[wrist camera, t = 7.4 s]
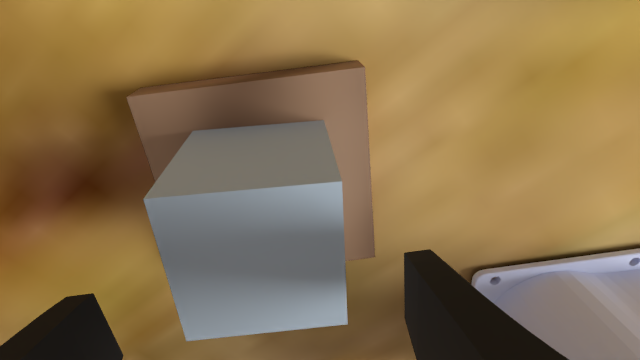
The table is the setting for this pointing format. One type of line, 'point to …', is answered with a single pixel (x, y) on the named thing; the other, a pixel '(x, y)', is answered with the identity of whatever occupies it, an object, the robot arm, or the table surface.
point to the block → (252, 230)
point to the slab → (272, 108)
